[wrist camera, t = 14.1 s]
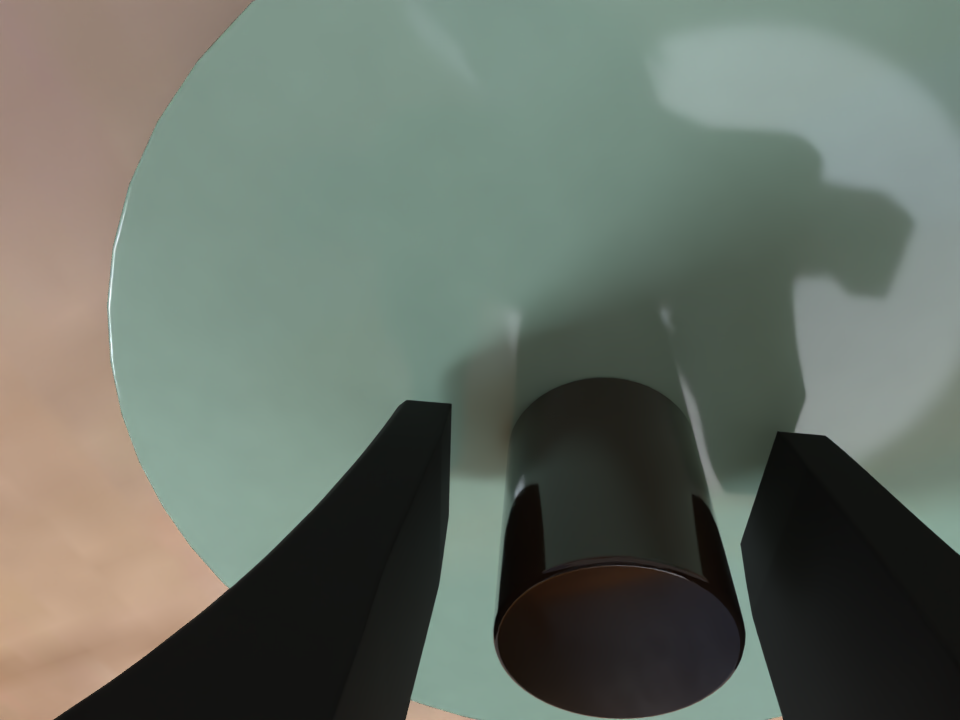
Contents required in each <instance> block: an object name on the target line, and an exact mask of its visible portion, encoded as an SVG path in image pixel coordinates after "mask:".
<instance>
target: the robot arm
mask: <svg viewBox="0 0 960 720" xmlns="http://www.w3.org/2000/svg"><path fill="white" fill-rule="evenodd" d="M451 416H452V404H450V403H439V402H427V401H415V400H406V401H404V402H403V403H402V404H400V405H399V406H398V407H397V409H396V410H395V411H394V413H393V414H392V416H391V417H390V418H389V420H388V421H387V422H386V424H385V425H384V427H383V428H382V429H381V430H380V432H379V433H378V434H377V436H376V437H375V438H374V439H373V441H372V442H371V443H370V444H369V446H368V447H367V448H366V449H365V451H364V452H363V453H362V454H361V455H360V457H359V458H358V459H357V460H356V462H355V463H354V464H353V465H352V466H351V467H350V468H349V470H348V471H347V472H346V473H345V474H344V475H343V476H342V478H341V479H340V480H339V481H338V482H337V483H336V484H335V485H334V487H333V488H332V489H331V490H330V491H329V492H328V493H327V495H326V496H325V497H324V498H323V499H322V500H321V501H320V502H319V503H318V504H317V505H316V506H315V508H314V509H313V510H312V511H311V512H310V513H309V514H308V515H307V516H306V517H305V518H304V519H303V520H302V521H301V522H300V523H299V524H298V525H297V526H296V527H295V528H294V529H293V530H292V531H291V532H290V533H289V534H288V535H287V536H286V537H285V538H284V539H283V540H282V541H281V542H280V543H279V544H278V545H277V546H276V547H275V548H274V549H273V550H272V551H271V552H270V553H269V554H268V555H266V556H265V557H264V558H263V559H262V560H261V561H260V562H259V563H258V564H257V565H256V566H255V567H253V568H252V569H251V570H250V571H249V572H248V573H247V574H246V575H245V576H243V577H242V578H241V579H240V580H239V581H238V582H237V583H236V584H234V585H233V586H232V587H231V588H230V589H229V590H227V591H226V592H225V593H224V594H223V595H221V596H220V597H219V598H218V599H217V600H216V601H214V602H213V603H212V604H211V605H210V606H209V607H207V608H206V609H205V610H204V611H203V612H201V613H200V614H199V615H198V616H196V617H195V618H194V619H192V620H191V621H190V622H189V623H187V624H186V625H185V626H183V627H182V628H181V629H180V630H178V631H177V632H176V633H174V634H173V635H172V636H171V637H169V638H168V639H167V640H165V641H164V642H163V643H162V644H160V645H159V646H158V647H156V648H155V649H154V650H153V651H151V652H150V653H149V654H147V655H146V656H145V657H143V658H142V659H141V660H139V661H138V662H137V663H135V664H134V665H132V666H131V667H130V668H128V669H127V670H126V671H124V672H123V673H122V674H120V675H119V676H117V677H116V678H115V679H113V680H112V681H110V682H109V683H107V684H106V685H105V686H103V687H102V688H100V689H99V690H97V691H96V692H94V693H93V694H91V695H90V696H88V697H87V698H85V699H84V700H82V701H81V702H79V703H78V704H76V705H75V706H73V707H72V708H70V709H69V710H67V711H66V712H64V713H63V714H61V715H60V716H58V717H57V718H55V719H54V720H405V719H406V715H407V711H408V707H409V703H410V699H411V695H412V691H413V687H414V684H415V680H416V676H417V672H418V668H419V664H420V660H421V656H422V652H423V648H424V644H425V640H426V636H427V632H428V628H429V624H430V620H431V616H432V612H433V608H434V604H435V600H436V596H437V592H438V588H439V583H440V576H441V569H442V563H443V556H444V548H445V541H446V534H447V526H448V519H449V492H450V454H451ZM740 546H741V552H742V559H743V565H744V572H745V579H746V585H747V591H748V596H749V602H750V607H751V613H752V617H753V621H754V624H755V628H756V631H757V635H758V638H759V641H760V645H761V648H762V651H763V655H764V658H765V662H766V665H767V668H768V672H769V675H770V678H771V681H772V685H773V688H774V691H775V694H776V698H777V701H778V704H779V708H780V711H781V714H782V717H783V720H960V555H959V554H958V553H957V552H956V551H954V550H953V549H952V548H951V547H950V546H949V545H948V544H946V543H945V542H944V541H943V540H942V539H941V538H940V537H939V536H937V535H936V534H935V533H934V532H933V531H932V530H931V529H930V528H928V527H927V526H926V525H925V524H924V523H923V522H922V521H921V520H920V519H918V518H917V517H916V516H915V515H914V514H913V513H912V512H911V511H910V510H908V509H907V508H906V507H905V506H904V505H903V504H902V503H901V502H900V501H899V500H898V499H896V498H895V497H894V496H893V495H892V494H891V493H890V492H889V491H888V490H887V489H886V488H884V487H883V486H882V485H881V484H880V483H879V482H878V481H877V480H876V479H875V478H874V477H872V476H871V475H870V474H869V473H868V472H867V471H866V470H865V469H864V468H863V467H861V466H860V465H859V464H858V463H857V462H856V461H855V460H854V459H853V458H851V457H850V456H849V455H848V454H847V453H846V452H845V451H844V450H842V449H841V448H840V447H839V446H838V445H837V444H835V443H834V442H833V441H832V440H830V439H829V438H828V437H827V436H825V435H815V434H803V433H791V432H779V431H777V434H776V437H775V440H774V443H773V446H772V449H771V452H770V455H769V458H768V461H767V464H766V467H765V470H764V473H763V476H762V479H761V482H760V485H759V488H758V491H757V494H756V498H755V501H754V504H753V507H752V510H751V513H750V516H749V519H748V522H747V525H746V528H745V531H744V534H743V537H742V540H741V543H740Z"/></svg>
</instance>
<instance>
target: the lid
mask: <svg viewBox="0 0 960 720" xmlns="http://www.w3.org/2000/svg"><path fill="white" fill-rule="evenodd" d="M107 312H108V329H109V346H110V362H111V367H112V371H113V376H114V381H115V385H116V390H117V395H118V399H119V404H120V409H121V414H122V416H123V419H124V422H125V425H126V427H127V430H128V433H129V436H130V438H131V441H132V444H133V446H134V449H135V452H136V455H137V457H138V460H139V463H140V464H141V466H142V468H143V470H144V472H145V474H146V476H147V478H148V480H149V482H150V483H151V485H152V487H153V489H154V491H155V493H156V495H157V497H158V499H159V501H160V502H161V504H162V506H163V508H164V509H165V511H166V512H167V513H168V515H169V516H170V518H171V519H172V521H173V522H174V523H175V525H176V526H177V528H178V529H179V531H180V532H181V533H182V535H183V536H184V538H185V539H186V541H187V542H188V544H189V545H190V546H191V547H192V549H193V550H194V551H195V552H196V553H197V554H198V555H199V557H200V558H201V559H202V560H203V561H204V562H205V563H206V564H207V566H208V567H209V568H210V569H211V570H212V571H213V572H214V573H215V575H216V576H217V577H218V578H219V579H220V580H221V581H222V582H223V583H224V584H225V585H226V586H227V587H228V588H229V589H230V588H231V587H232V586H233V585H234V584H236V583H237V582H238V581H239V580H240V579H241V578H242V577H243V576H245V575H246V574H247V573H248V572H249V571H250V570H251V569H252V568H253V567H255V566H256V565H257V564H258V563H259V562H260V561H261V560H262V559H263V558H264V557H265V556H266V555H268V554H269V553H270V552H271V551H272V550H273V549H274V548H275V547H276V546H277V545H278V544H279V543H280V542H281V541H282V540H283V539H284V538H285V537H286V536H287V535H288V534H289V533H290V532H291V531H292V530H293V529H294V528H295V527H296V526H297V525H298V524H299V523H300V522H301V521H302V520H303V519H304V518H305V517H306V516H307V515H308V514H309V513H310V512H311V511H312V510H313V509H314V508H315V506H316V505H317V504H318V503H319V502H320V501H321V500H322V499H323V498H324V497H325V496H326V495H327V493H328V492H329V491H330V490H331V489H332V488H333V487H334V485H335V484H336V483H337V482H338V481H339V480H340V479H341V478H342V476H343V475H344V474H345V473H346V472H347V471H348V470H349V468H350V467H351V466H352V465H353V464H354V463H355V462H356V460H357V459H358V458H359V457H360V455H361V454H362V453H363V452H364V451H365V449H366V448H367V447H368V446H369V444H370V443H371V442H372V441H373V439H374V438H375V437H376V436H377V434H378V433H379V432H380V430H381V429H382V428H383V427H384V425H385V424H386V422H387V421H388V420H389V418H390V417H391V416H392V414H393V413H394V411H395V410H396V409H397V407H398V406H399V405H400V404H402V403H403V402H404V401H406V400H415V401H427V402H439V403H450V404H452V416H451V454H450V492H449V519H448V526H447V534H446V541H445V548H444V556H443V563H442V569H441V576H440V583H439V588H438V592H437V596H436V600H435V604H434V608H433V612H432V616H431V620H430V624H429V628H428V632H427V636H426V640H425V644H424V648H423V652H422V656H421V660H420V664H419V668H418V672H417V676H416V680H415V684H414V687H413V691H412V695H411V699H410V700H412V701H415V702H417V703H420V704H423V705H427V706H430V707H433V708H437V709H440V710H443V711H447V712H450V713H453V714H457V715H460V716H463V717H468V718H472V719H477V720H768V719H772V718H777V717H781V716H782V714H781V711H780V708H779V704H778V701H777V698H776V694H775V691H774V688H773V685H772V681H771V678H770V675H769V672H768V668H767V665H766V662H765V658H764V655H763V651H762V648H761V645H760V641H759V638H758V635H757V631H756V628H755V624H754V621H753V617H752V613H751V607H750V602H749V596H748V591H747V585H746V579H745V572H744V565H743V559H742V552H741V546H740V543H741V540H742V537H743V534H744V531H745V528H746V525H747V522H748V519H749V516H750V513H751V510H752V507H753V504H754V501H755V498H756V494H757V491H758V488H759V485H760V482H761V479H762V476H763V473H764V470H765V467H766V464H767V461H768V458H769V455H770V452H771V449H772V446H773V443H774V440H775V437H776V434H777V431H779V432H791V433H803V434H815V435H825V436H827V437H828V438H829V439H830V440H832V441H833V442H834V443H835V444H837V445H838V446H839V447H840V448H841V449H842V450H844V451H845V452H846V453H847V454H848V455H849V456H850V457H851V458H853V459H854V460H855V461H856V462H857V463H858V464H859V465H860V466H861V467H863V468H864V469H865V470H866V471H867V472H868V473H869V474H870V475H871V476H872V477H874V478H875V479H876V480H877V481H878V482H879V483H880V484H881V485H882V486H883V487H884V488H886V489H887V490H888V491H889V492H890V493H891V494H892V495H893V496H894V497H895V498H896V499H898V500H899V501H900V502H901V503H902V504H903V505H904V506H905V507H906V508H907V509H908V510H910V511H911V512H912V513H913V514H914V515H915V516H916V517H917V518H918V519H920V520H921V521H922V522H923V523H924V524H925V525H926V526H927V527H928V528H930V529H931V530H932V531H933V532H934V533H935V534H936V535H937V536H939V537H940V538H941V539H942V540H943V541H944V542H945V543H946V544H948V545H949V546H950V547H951V548H952V549H953V550H954V551H956V552H957V553H958V554H959V555H960V0H253V1H252V2H251V3H250V4H249V5H248V6H247V7H246V8H245V10H244V11H243V12H242V13H241V14H240V15H239V16H238V17H237V18H236V19H235V20H234V21H233V23H232V24H231V25H230V26H229V27H228V28H227V29H226V30H225V31H224V32H223V33H222V34H221V36H220V37H219V38H218V39H217V40H216V41H215V42H214V43H213V44H212V45H211V46H210V47H209V49H208V50H207V51H206V52H205V53H204V54H203V55H202V56H201V57H200V58H199V59H198V61H197V62H196V64H195V65H194V67H193V68H192V70H191V71H190V73H189V74H188V76H187V77H186V79H185V80H184V82H183V83H182V85H181V86H180V88H179V89H178V91H177V92H176V94H175V95H174V97H173V98H172V100H171V101H170V103H169V105H168V106H167V108H166V109H165V111H164V112H163V114H162V115H161V117H160V118H159V120H158V121H157V123H156V125H155V128H154V130H153V132H152V134H151V137H150V139H149V141H148V143H147V146H146V148H145V150H144V152H143V154H142V157H141V159H140V161H139V163H138V166H137V168H136V170H135V172H134V175H133V177H132V179H131V181H130V183H129V187H128V191H127V195H126V198H125V202H124V206H123V210H122V214H121V217H120V221H119V225H118V229H117V233H116V236H115V240H114V244H113V251H112V261H111V271H110V282H109V292H108V302H107Z"/></svg>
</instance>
